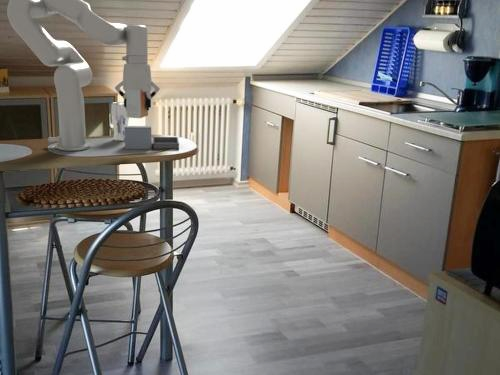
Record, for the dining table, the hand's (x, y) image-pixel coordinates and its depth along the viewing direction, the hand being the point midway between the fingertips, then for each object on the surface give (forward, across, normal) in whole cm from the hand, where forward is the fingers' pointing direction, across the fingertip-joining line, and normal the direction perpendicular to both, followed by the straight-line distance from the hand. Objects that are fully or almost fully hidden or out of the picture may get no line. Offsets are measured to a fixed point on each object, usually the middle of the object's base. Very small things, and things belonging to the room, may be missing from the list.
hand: (137, 109), depth 221 cm
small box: (+3, 0, 0) cm, 3 cm away
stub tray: (+16, +10, +10) cm, 22 cm away
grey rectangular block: (+16, 0, +8) cm, 18 cm away
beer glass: (+17, -8, +23) cm, 30 cm away
